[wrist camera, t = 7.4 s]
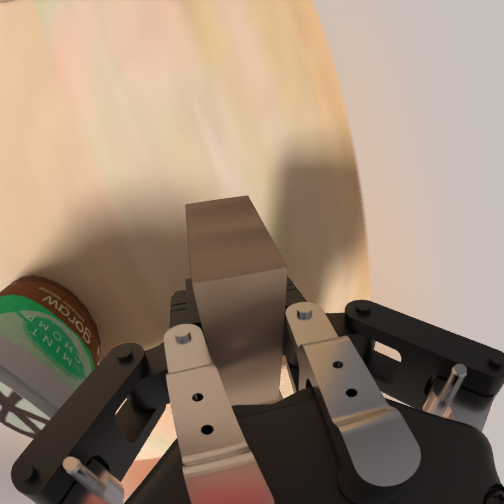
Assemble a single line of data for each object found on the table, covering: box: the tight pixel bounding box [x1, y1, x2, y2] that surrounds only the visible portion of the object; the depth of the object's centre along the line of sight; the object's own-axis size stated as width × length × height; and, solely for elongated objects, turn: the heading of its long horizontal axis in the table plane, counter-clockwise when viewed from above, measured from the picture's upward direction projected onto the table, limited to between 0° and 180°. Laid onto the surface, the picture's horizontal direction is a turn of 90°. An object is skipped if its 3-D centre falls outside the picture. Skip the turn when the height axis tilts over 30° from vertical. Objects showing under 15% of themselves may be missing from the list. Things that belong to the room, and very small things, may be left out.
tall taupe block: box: [185, 196, 287, 406], centre depth 14 cm, size 14×5×5 cm, turn 5°
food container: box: [0, 276, 100, 439], centre depth 13 cm, size 12×6×10 cm, turn 47°
